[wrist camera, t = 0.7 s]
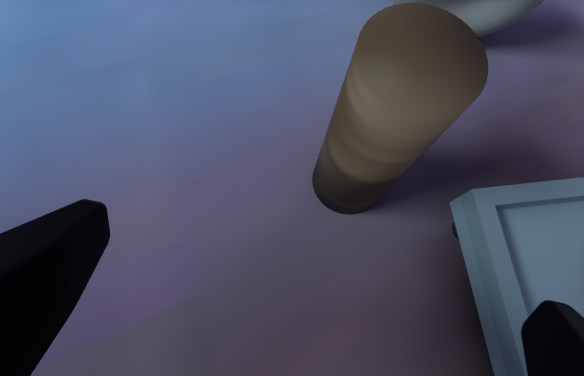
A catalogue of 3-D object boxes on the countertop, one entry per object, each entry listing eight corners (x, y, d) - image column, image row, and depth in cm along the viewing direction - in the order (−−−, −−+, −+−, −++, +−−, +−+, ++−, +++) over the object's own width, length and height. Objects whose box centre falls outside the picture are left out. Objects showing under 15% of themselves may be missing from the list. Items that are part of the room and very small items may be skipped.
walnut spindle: (386, 210, 24) (505, 110, 12) (317, 217, 24) (370, 121, 12) (373, 146, 25) (468, -1, 13) (307, 152, 25) (346, 6, 13)
